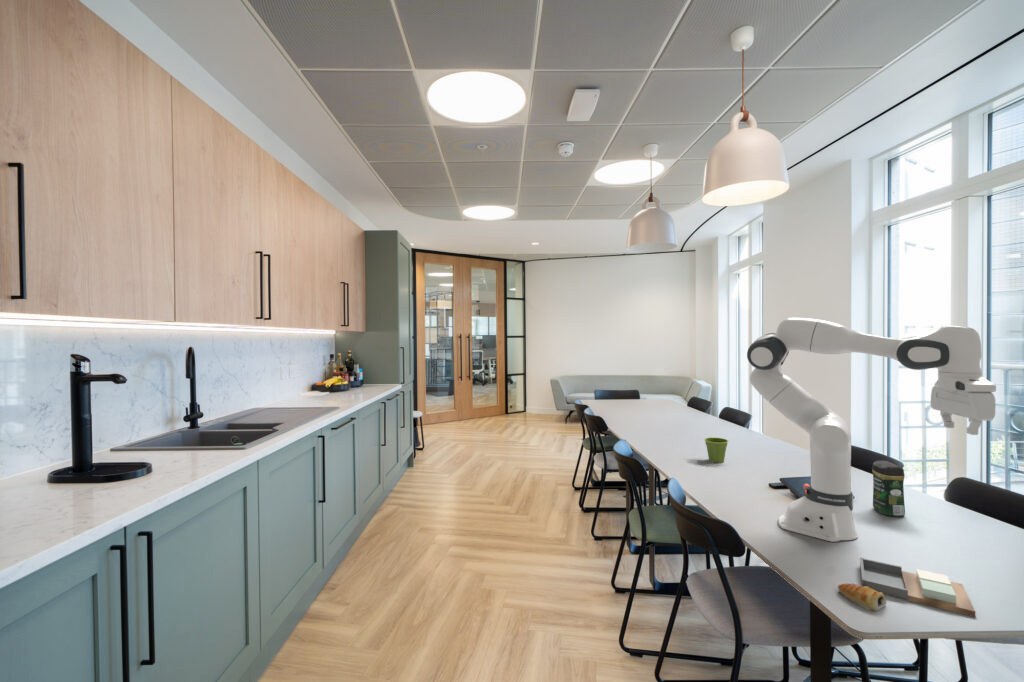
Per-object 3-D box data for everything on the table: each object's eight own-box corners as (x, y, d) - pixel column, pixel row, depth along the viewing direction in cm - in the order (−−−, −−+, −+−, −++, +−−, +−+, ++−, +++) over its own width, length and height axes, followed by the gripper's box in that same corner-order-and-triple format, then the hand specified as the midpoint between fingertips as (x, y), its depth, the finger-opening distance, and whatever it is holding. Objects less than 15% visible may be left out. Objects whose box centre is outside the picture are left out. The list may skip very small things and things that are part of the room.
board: (907, 600, 113) (907, 595, 113) (901, 575, 124) (901, 570, 124) (975, 616, 106) (975, 611, 106) (962, 588, 117) (962, 584, 117)
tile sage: (922, 596, 112) (922, 588, 112) (919, 586, 116) (919, 579, 116) (956, 604, 109) (956, 595, 109) (952, 594, 113) (951, 586, 113)
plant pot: (701, 461, 237) (701, 440, 237) (708, 456, 246) (708, 436, 246) (725, 465, 229) (725, 443, 229) (731, 460, 238) (731, 439, 238)
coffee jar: (868, 507, 172) (867, 458, 172) (892, 508, 171) (891, 459, 170) (884, 517, 163) (883, 465, 162) (909, 518, 161) (908, 466, 161)
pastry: (833, 595, 116) (832, 580, 116) (845, 587, 120) (845, 573, 120) (876, 614, 108) (876, 598, 108) (889, 605, 111) (888, 590, 111)
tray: (862, 589, 118) (862, 579, 118) (860, 566, 129) (860, 557, 129) (907, 600, 113) (907, 590, 113) (901, 575, 124) (901, 566, 124)
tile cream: (919, 585, 117) (919, 577, 117) (916, 576, 121) (916, 569, 121) (951, 592, 114) (951, 584, 114) (947, 583, 118) (947, 575, 118)
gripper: (923, 378, 139) (924, 423, 139) (971, 386, 119) (972, 438, 119) (948, 378, 137) (948, 424, 137) (1001, 386, 117) (1002, 439, 117)
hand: (960, 430), depth 128 cm, fingers open, 8 cm apart
